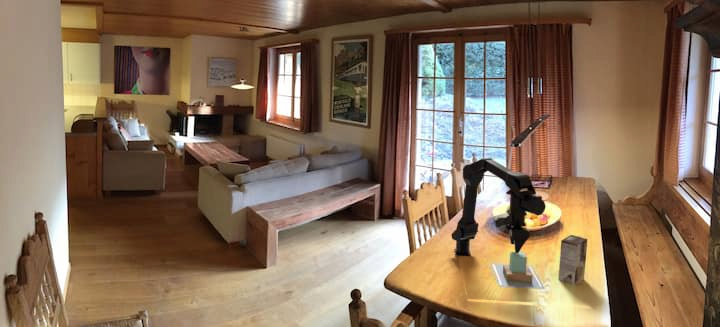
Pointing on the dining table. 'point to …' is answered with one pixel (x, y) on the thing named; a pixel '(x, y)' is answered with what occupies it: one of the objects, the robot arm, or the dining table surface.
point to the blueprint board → (503, 283)
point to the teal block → (518, 262)
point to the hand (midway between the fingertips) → (514, 248)
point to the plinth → (517, 275)
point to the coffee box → (572, 259)
